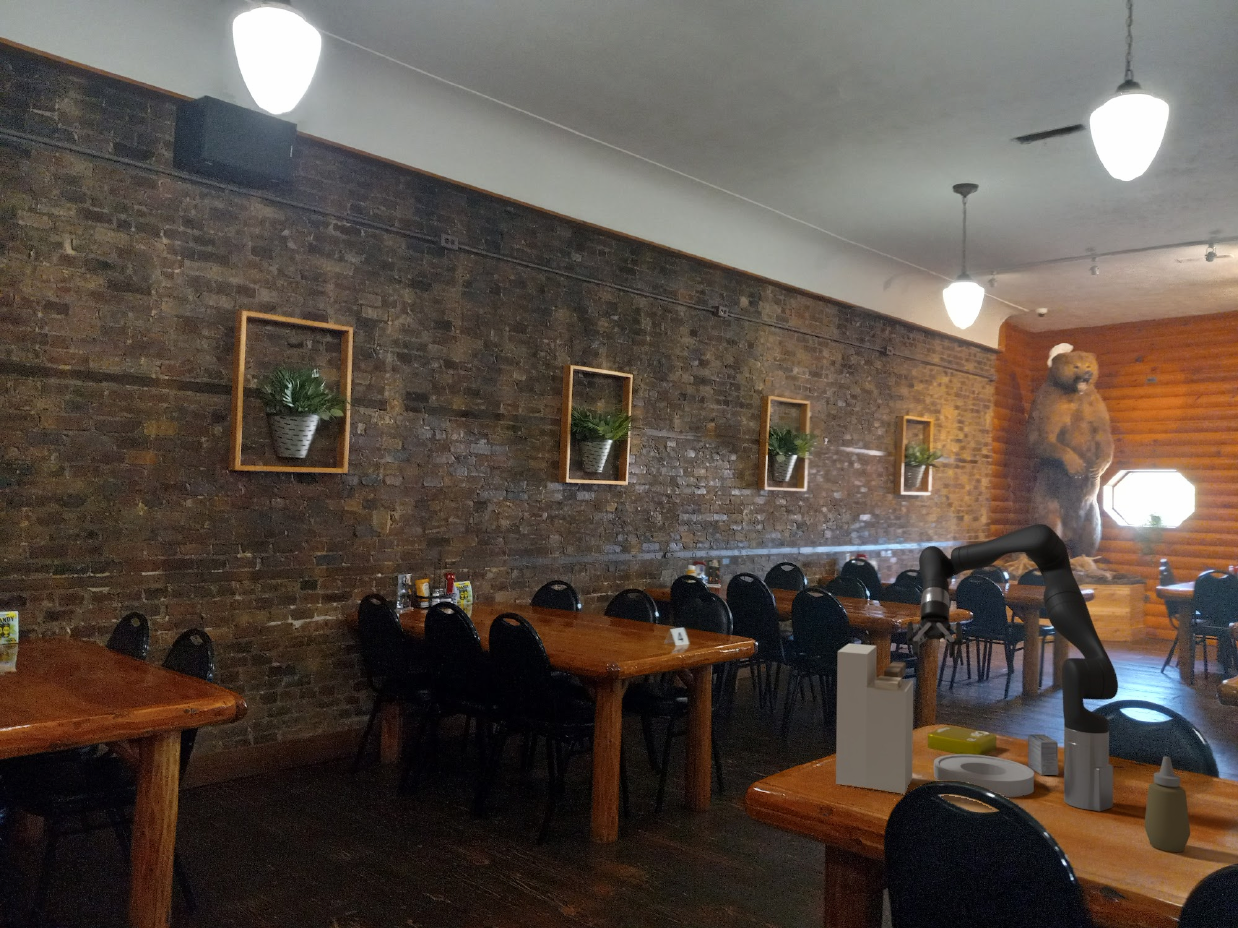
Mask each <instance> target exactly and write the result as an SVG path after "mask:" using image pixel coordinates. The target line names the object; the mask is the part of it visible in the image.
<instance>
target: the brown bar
mask: <svg viewBox="0 0 1238 928" xmlns="http://www.w3.org/2000/svg"><path fill="white" fill-rule="evenodd" d="M906 667H907V663H906V662H903V661H902V662H901V661H892V662H891V663H890V664H889V665H888V666H887V667H886V668H885V669H884V671H883V675H879V676H878V677H877V679H876V680H875V689H882V690H891V691H898V689H899V688H900V687H901V685H902V680H903V678H904V677H905V675H907V674H906V673H907V672H906Z"/></svg>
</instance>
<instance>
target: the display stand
mask: <svg viewBox="0 0 1238 928" xmlns="http://www.w3.org/2000/svg"><path fill="white" fill-rule="evenodd" d="M877 653H878V651H877V645H873V644H871V645H870V644H859V643H848V644H846V645H844V646H843V647H841V648H840V649H838V650H837V659H836V660H837V661H836V662H837V663H836V664H837V665H836V667H837V669H836V670H837V671H836V673H837V674H836V675H837V676H836V677H837V679H836V681H837V682H836V688H837V689H836V743H835V744H836V748H835V749H836V754H835V755H836V758H835V759H836V761H835V785H836V784H842V785H852V786H857V787H865V788H873V789H878V790H885V791H889V792H897V793H901V794H900V795H902V793H903V796H905V795H906V794H905V793H907V791H908V789H909V787H908V785H909V784H910V785H911V782H912V780H913V761H914V760H913V759H914V758H913V756H914V755H913V753H914V751H913V750H914V749H913V746H914V745H913V743H914V740H913V739H914V680H909V679H908V680H906V679H902V685H901V687H900V688H899V689H898V691H891V690H882V689H875V680H876V679H877V678H878V677H877V662H878V661H877ZM911 779H912V780H911ZM910 781H911V782H910ZM910 785H909V786H910ZM907 788H908V789H907Z"/></svg>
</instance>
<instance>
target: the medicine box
mask: <svg viewBox="0 0 1238 928" xmlns="http://www.w3.org/2000/svg"><path fill="white" fill-rule="evenodd" d="M1027 737H1028V738H1027V740H1028V741H1027V744H1028V746H1027V747H1028V749H1027V750H1028V752H1027V753H1028V758H1027V759H1028V760H1027V761H1028V764H1027V767H1029V768H1030V769H1032V770H1033V772H1036V773H1038V774H1039V775H1041V776H1044V775H1057V776H1059V751H1058V750H1059V749H1058V744H1059V743H1058V741H1057V740H1055V739H1054V738H1051V737H1049V736H1047V735H1045V734H1040V733H1037V734H1036V733H1033V734H1032V733H1030V734H1028V736H1027Z"/></svg>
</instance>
